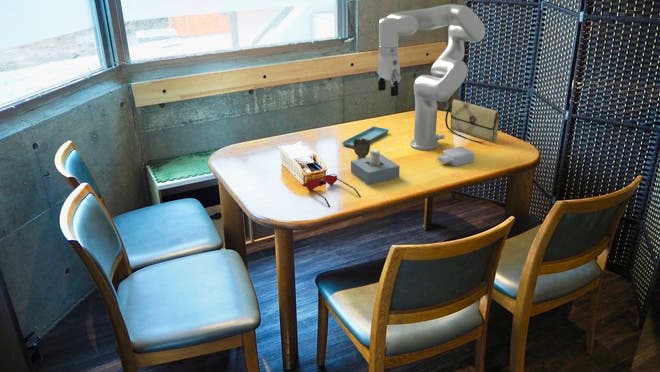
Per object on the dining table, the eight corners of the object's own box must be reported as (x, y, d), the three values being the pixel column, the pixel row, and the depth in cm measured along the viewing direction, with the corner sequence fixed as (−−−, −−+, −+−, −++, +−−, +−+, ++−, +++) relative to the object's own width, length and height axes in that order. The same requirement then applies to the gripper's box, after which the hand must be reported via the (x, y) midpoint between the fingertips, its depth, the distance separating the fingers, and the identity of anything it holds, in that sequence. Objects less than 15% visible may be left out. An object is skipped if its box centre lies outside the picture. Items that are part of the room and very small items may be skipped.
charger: (430, 162, 228) (459, 156, 234) (444, 170, 221) (473, 163, 227) (430, 152, 227) (459, 145, 232) (444, 159, 219) (474, 152, 225)
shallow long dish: (357, 150, 244) (357, 145, 243) (341, 146, 249) (341, 141, 248) (389, 134, 263) (389, 129, 262) (373, 131, 268) (373, 126, 267)
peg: (376, 172, 220) (376, 149, 216) (381, 175, 217) (381, 152, 213) (367, 174, 219) (367, 150, 215) (372, 177, 216) (372, 154, 211)
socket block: (381, 165, 226) (381, 154, 224) (399, 177, 215) (399, 165, 213) (350, 172, 221) (350, 160, 219) (367, 184, 209) (367, 172, 207)
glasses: (336, 183, 213) (335, 171, 211) (361, 198, 200) (361, 185, 198) (305, 192, 206) (304, 180, 204) (329, 208, 193) (329, 195, 191)
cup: (369, 162, 230) (369, 144, 227) (351, 161, 232) (351, 143, 228) (371, 155, 237) (371, 138, 234) (354, 154, 238) (354, 137, 235)
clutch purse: (441, 130, 264) (442, 100, 258) (451, 127, 268) (453, 97, 262) (490, 147, 242) (493, 114, 236) (500, 143, 246) (504, 111, 240)
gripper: (408, 53, 210) (407, 96, 217) (385, 46, 224) (385, 87, 232) (391, 55, 207) (391, 99, 214) (369, 48, 221) (369, 89, 229)
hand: (388, 92), depth 223 cm, fingers open, 9 cm apart
